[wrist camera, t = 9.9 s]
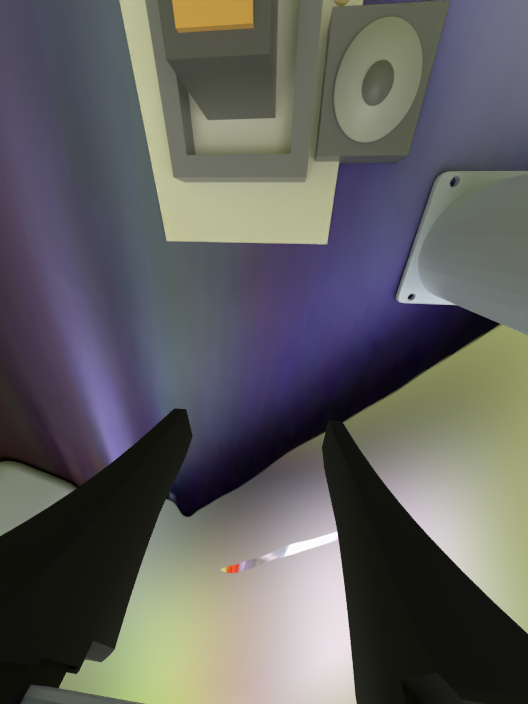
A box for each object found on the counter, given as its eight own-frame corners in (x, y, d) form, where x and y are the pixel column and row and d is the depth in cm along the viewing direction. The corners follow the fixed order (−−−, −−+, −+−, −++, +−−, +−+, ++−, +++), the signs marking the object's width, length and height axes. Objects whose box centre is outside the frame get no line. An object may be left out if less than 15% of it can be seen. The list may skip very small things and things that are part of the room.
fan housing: (429, 29, 10) (459, -12, 9) (395, 163, 13) (413, 152, 11) (327, 34, 11) (335, -5, 9) (313, 163, 13) (318, 152, 11)
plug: (278, -31, 10) (274, -264, 5) (275, 118, 12) (269, 49, 7) (195, -24, 10) (119, -240, 5) (207, 120, 12) (163, 55, 8)
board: (401, -274, 7) (436, -423, 6) (325, 244, 15) (331, 245, 14) (80, -227, 8) (27, -345, 6) (169, 240, 16) (156, 241, 14)
